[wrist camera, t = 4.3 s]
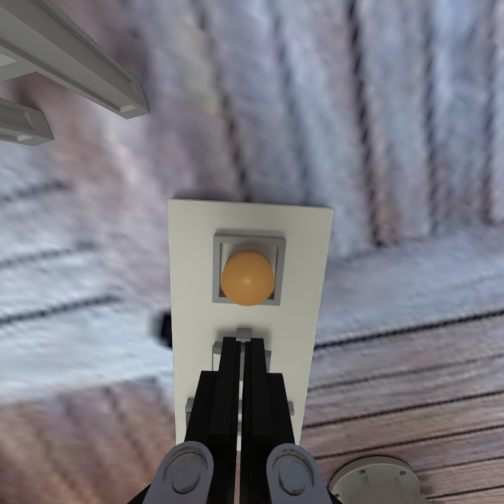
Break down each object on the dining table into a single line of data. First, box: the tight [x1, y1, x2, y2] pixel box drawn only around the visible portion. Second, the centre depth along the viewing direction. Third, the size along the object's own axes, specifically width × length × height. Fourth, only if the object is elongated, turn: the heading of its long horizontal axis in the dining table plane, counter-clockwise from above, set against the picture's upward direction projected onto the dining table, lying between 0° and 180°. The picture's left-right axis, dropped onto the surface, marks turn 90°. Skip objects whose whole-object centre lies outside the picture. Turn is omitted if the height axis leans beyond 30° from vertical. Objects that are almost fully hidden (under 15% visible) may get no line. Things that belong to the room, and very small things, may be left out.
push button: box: [221, 250, 275, 306], centre depth 21 cm, size 4×4×2 cm
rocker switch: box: [212, 341, 272, 381], centre depth 24 cm, size 6×3×2 cm, turn 87°
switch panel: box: [167, 198, 334, 451], centre depth 26 cm, size 15×30×4 cm, turn 177°
